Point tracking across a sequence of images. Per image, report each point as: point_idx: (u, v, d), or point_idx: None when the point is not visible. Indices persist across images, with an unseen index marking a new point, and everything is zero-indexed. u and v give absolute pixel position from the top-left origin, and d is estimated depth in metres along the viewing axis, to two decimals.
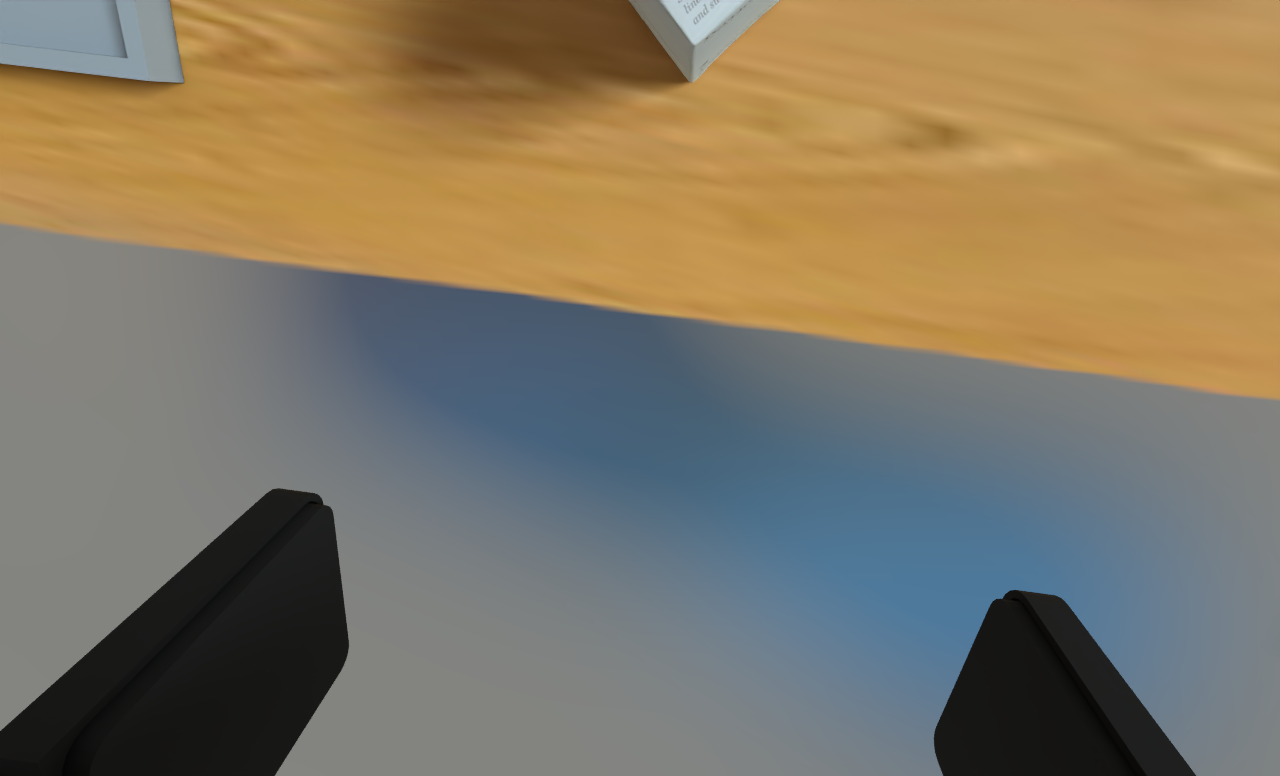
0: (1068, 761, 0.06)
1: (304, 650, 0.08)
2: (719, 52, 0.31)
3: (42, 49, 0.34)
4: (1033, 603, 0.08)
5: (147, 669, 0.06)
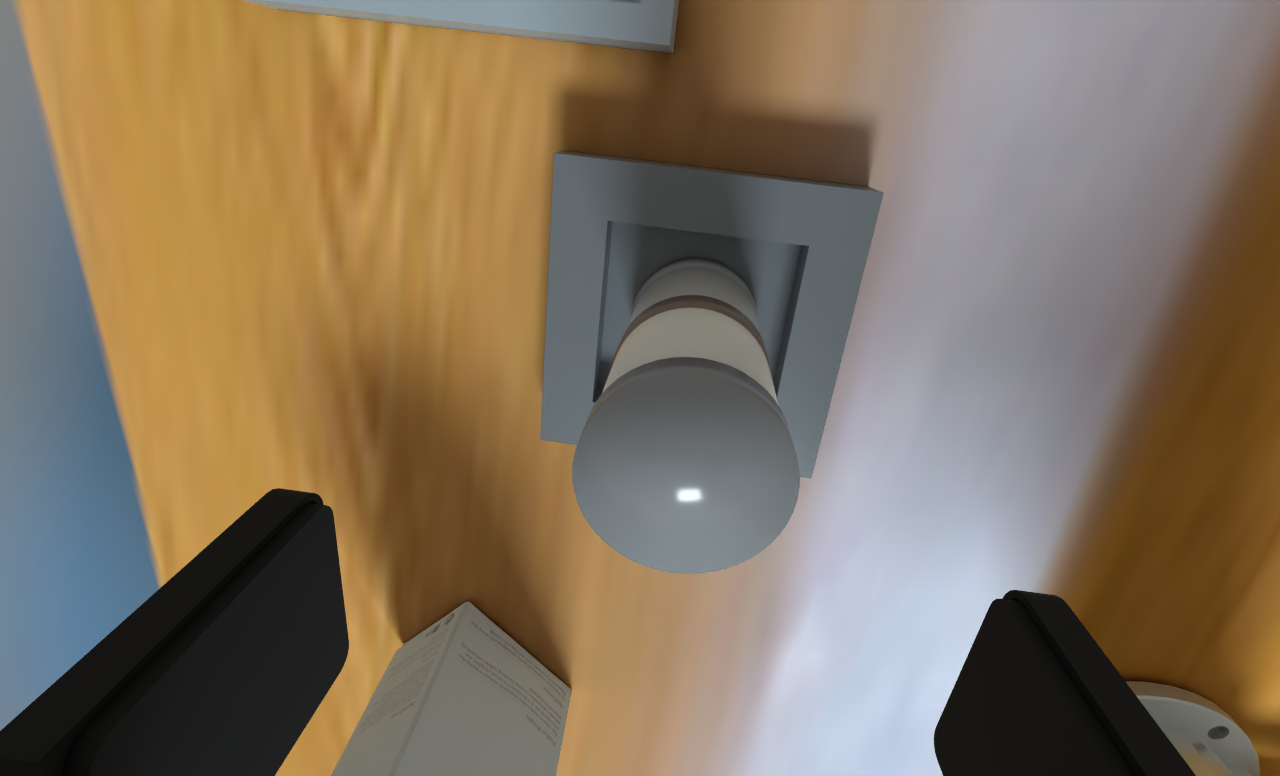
0: (1068, 761, 0.06)
1: (304, 650, 0.08)
2: None
3: None
4: (1033, 603, 0.08)
5: (147, 669, 0.06)
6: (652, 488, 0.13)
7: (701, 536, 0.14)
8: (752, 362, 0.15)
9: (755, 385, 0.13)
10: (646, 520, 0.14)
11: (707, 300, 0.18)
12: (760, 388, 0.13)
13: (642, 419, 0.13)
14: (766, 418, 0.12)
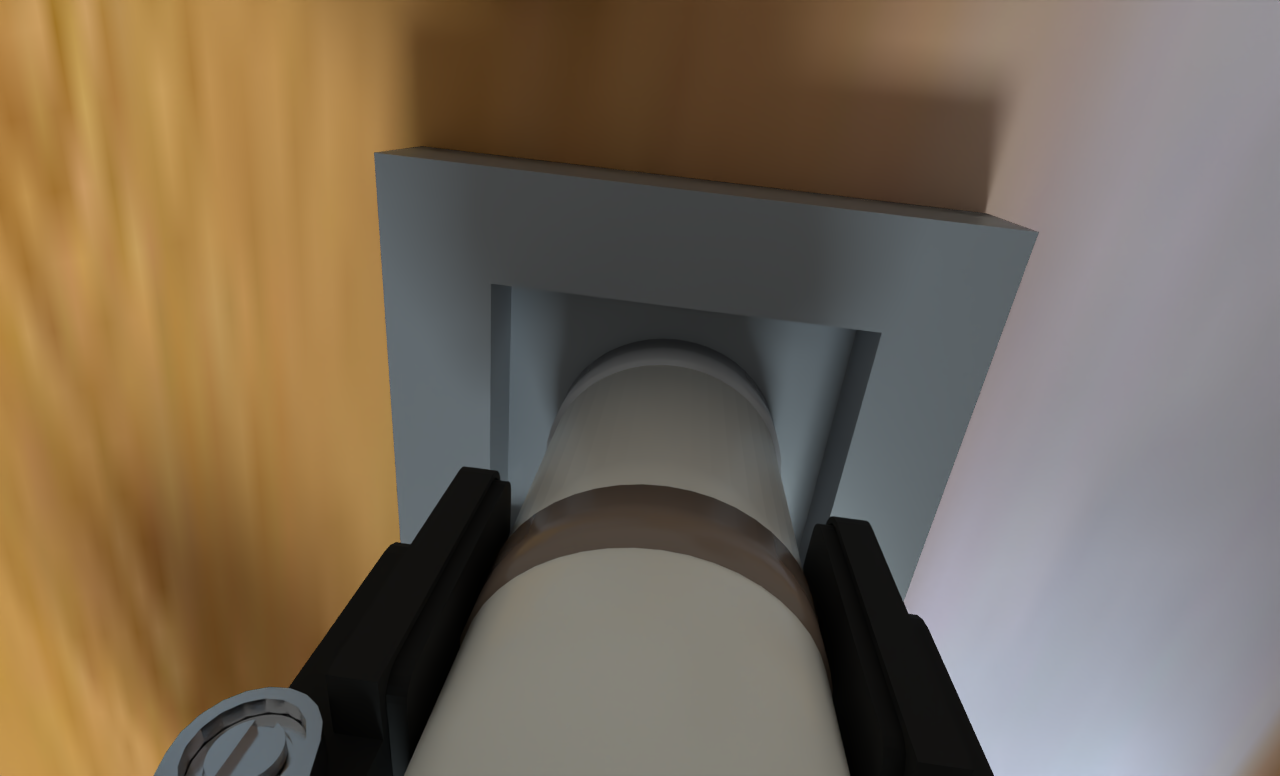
0: (837, 646, 0.08)
1: None
2: None
3: None
4: (841, 525, 0.09)
5: (425, 613, 0.07)
6: None
7: None
8: None
9: None
10: None
11: (678, 507, 0.08)
12: None
13: None
14: None
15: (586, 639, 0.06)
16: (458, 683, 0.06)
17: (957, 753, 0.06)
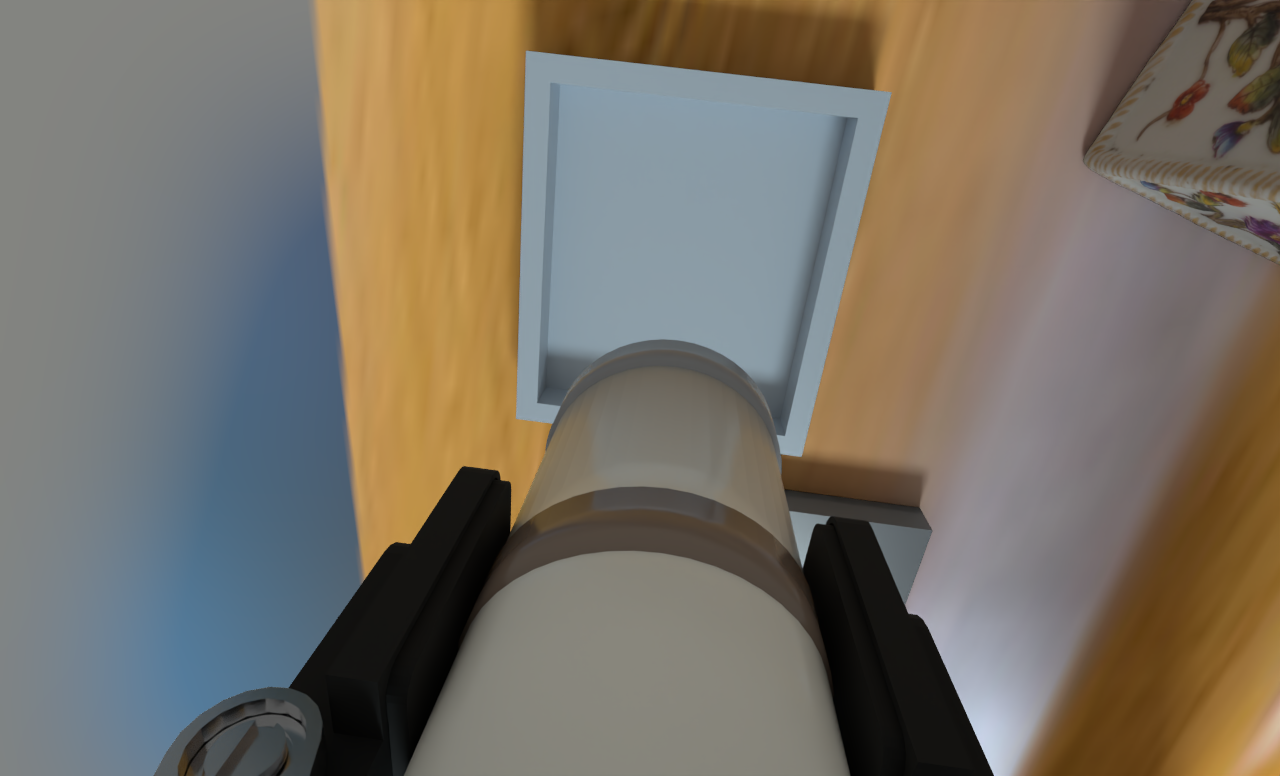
0: (837, 646, 0.08)
1: None
2: None
3: (539, 307, 0.28)
4: (841, 525, 0.09)
5: (425, 613, 0.07)
6: None
7: None
8: None
9: None
10: None
11: (678, 510, 0.07)
12: None
13: None
14: None
15: (585, 643, 0.06)
16: (456, 687, 0.06)
17: (957, 753, 0.06)
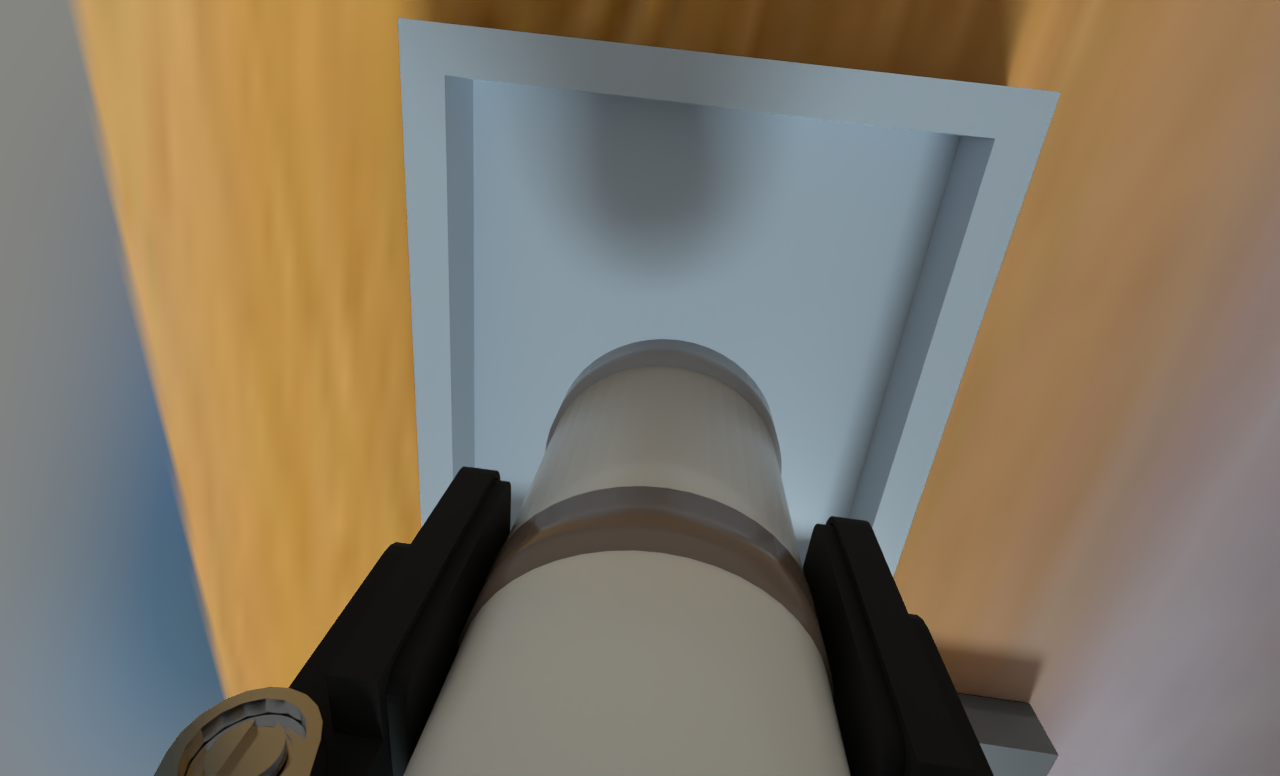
0: (837, 646, 0.08)
1: None
2: None
3: (450, 438, 0.17)
4: (841, 525, 0.09)
5: (424, 613, 0.07)
6: None
7: None
8: None
9: None
10: None
11: (678, 509, 0.07)
12: None
13: None
14: None
15: (585, 643, 0.06)
16: (456, 687, 0.06)
17: (957, 753, 0.06)
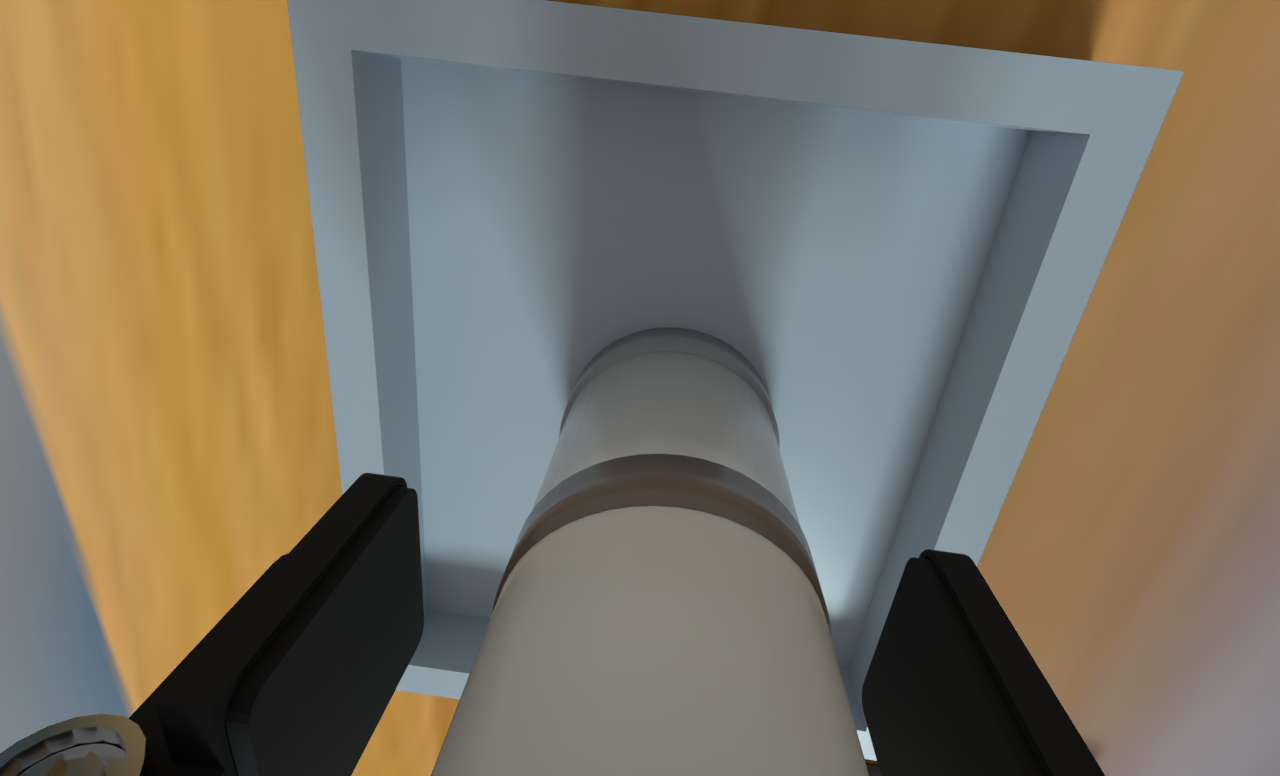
0: (956, 696, 0.07)
1: (393, 624, 0.09)
2: None
3: None
4: (941, 560, 0.08)
5: (284, 632, 0.06)
6: None
7: None
8: (819, 740, 0.05)
9: None
10: None
11: (692, 473, 0.08)
12: None
13: None
14: None
15: (619, 578, 0.07)
16: (505, 622, 0.07)
17: None
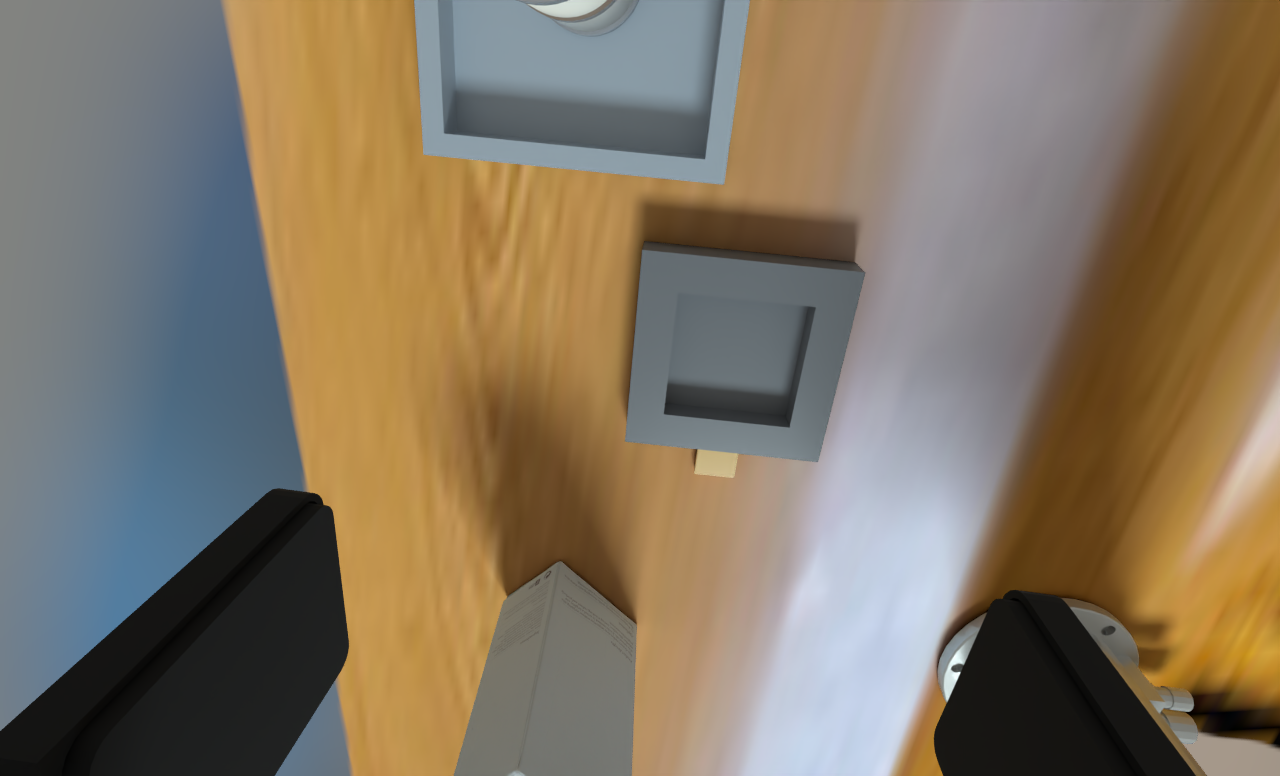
0: (1068, 761, 0.06)
1: (304, 650, 0.08)
2: None
3: (437, 11, 0.26)
4: (1033, 603, 0.08)
5: (147, 669, 0.06)
6: None
7: None
8: None
9: None
10: None
11: None
12: None
13: None
14: None
15: None
16: None
17: None
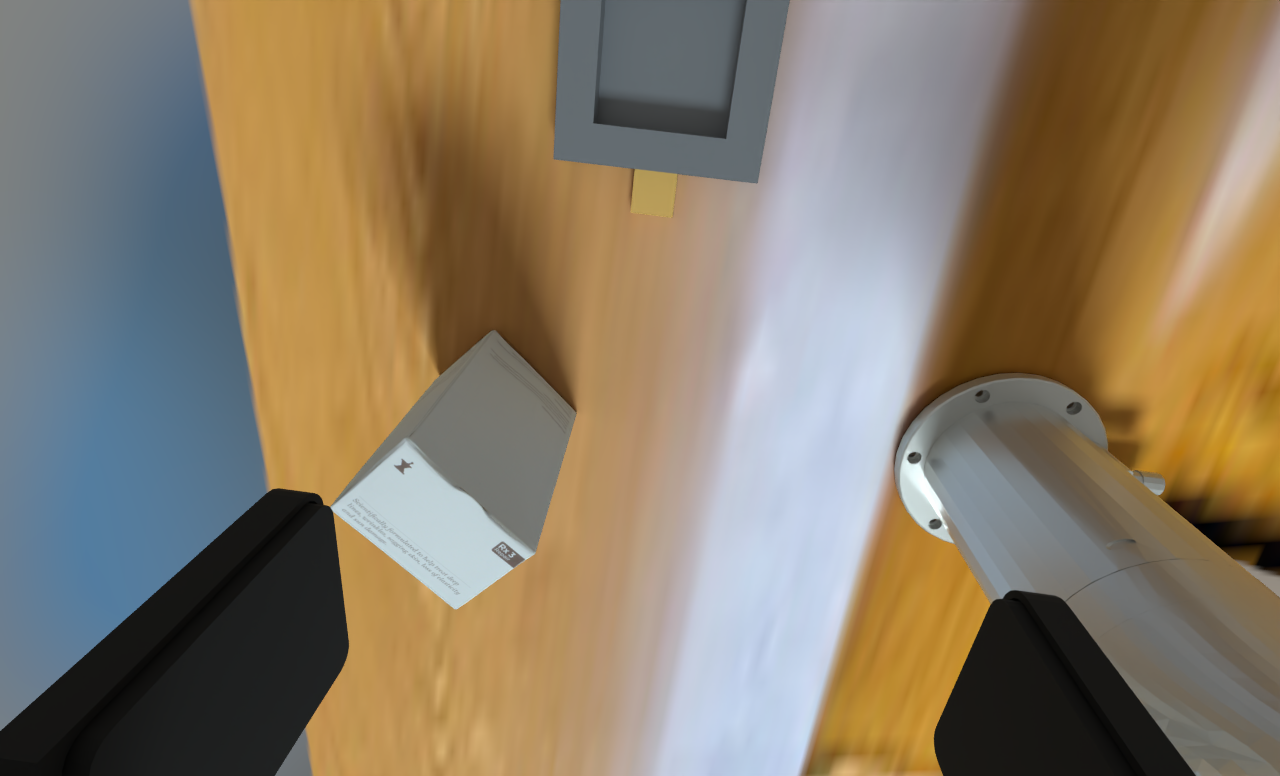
0: (1068, 761, 0.06)
1: (304, 650, 0.08)
2: None
3: None
4: (1033, 603, 0.08)
5: (147, 669, 0.06)
6: None
7: None
8: None
9: None
10: None
11: None
12: None
13: None
14: None
15: None
16: None
17: None
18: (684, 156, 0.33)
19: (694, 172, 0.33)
